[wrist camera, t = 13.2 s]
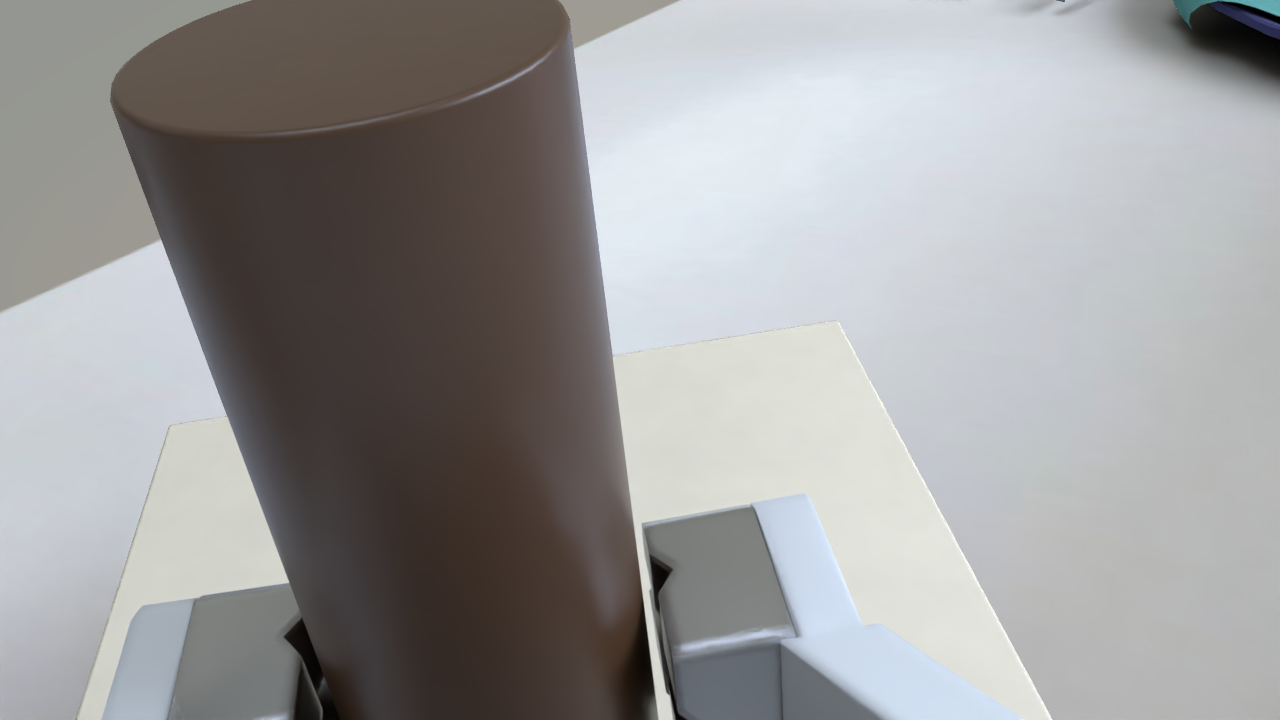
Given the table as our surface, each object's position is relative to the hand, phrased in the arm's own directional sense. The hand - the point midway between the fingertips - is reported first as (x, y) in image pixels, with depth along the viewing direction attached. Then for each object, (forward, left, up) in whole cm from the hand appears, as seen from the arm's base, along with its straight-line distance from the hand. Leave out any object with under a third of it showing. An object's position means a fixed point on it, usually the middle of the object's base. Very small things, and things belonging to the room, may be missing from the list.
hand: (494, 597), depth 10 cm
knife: (+2, +4, -10) cm, 11 cm away
